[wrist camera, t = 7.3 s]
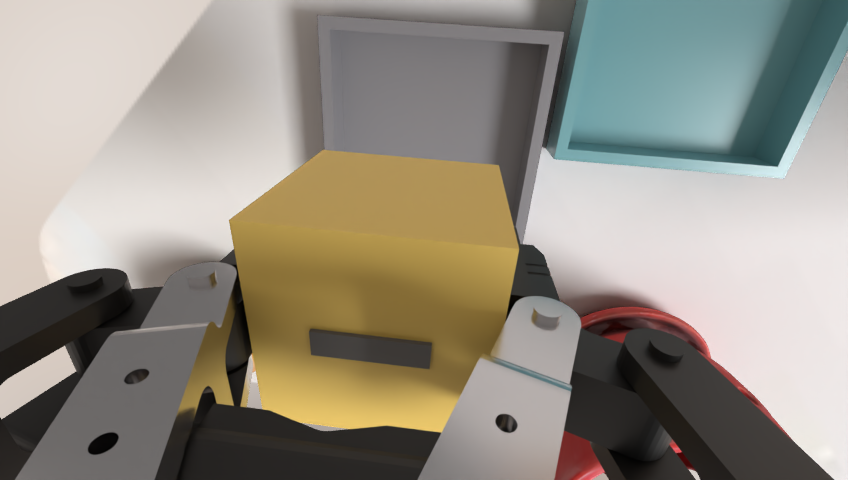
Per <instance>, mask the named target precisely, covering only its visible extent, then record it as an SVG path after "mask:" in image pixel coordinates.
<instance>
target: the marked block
mask: <svg viewBox="0 0 848 480" xmlns="http://www.w3.org/2000/svg"><path fill="white" fill-rule="evenodd" d="M229 223H230V229H231V234H232V240H233V245H234V251H235V257H236V262H237V268H238V274H239V279H240V285H241V290H242V296H243V302H244V307H245V313H246V318H247V324H248V330H249V335H250V341H251V347H252V352H253V358H254V363H255V369H256V375H257V380H258V386H259V392H260V397H261V403H262V408H263V410H270V411H272V412H275V413H277V414H280V415H282V416H284V417H287V418H289V419H292V420H294V421H297V422H300V423H308V424H316V425H324V426H331V427H339V428H346V429H357V428H367V427H377V426H394V427H402V428H410V429H418V430H425V431H433V432H441V433H442V431H443V429H444V427H445V425H446V423H447V421H448V419H449V417H450V415H451V413H452V411H453V409H454V407H455V405H456V403H457V401H458V399H459V398H460V396H461V394H462V392H463V390H464V388H465V386H466V384H467V382H468V380H469V378H470V376H471V374H472V372H473V370H474V368H475V366H476V364H477V362H478V360H479V359H480V357H481V355H482V354H483V353H485V354H488V355H490V353H491V351H492V349H493V347H494V345H495V343H496V341H497V339H498V337H499V335H500V333H501V331H502V329H503V326H504V324H505V320H506V315H507V310H508V305H509V300H510V294H511V289H512V284H513V279H514V274H515V269H516V263H517V258H518V253H519V246H518V242H517V238H516V234H515V230H514V225H513V221H512V217H511V213H510V209H509V205H508V201H507V197H506V193H505V188H504V184H503V180H502V176H501V172H500V168H499V165H492V164H480V163H469V162H457V161H446V160H434V159H423V158H411V157H400V156H388V155H377V154H365V153H354V152H342V151H331V150H322V151H321V152H319V153H318V154H317V155H315V156H314V157H313V158H311V159H310V160H309V161H307V162H306V163H305V164H303V165H302V166H301V167H299V168H298V169H297V170H295V171H294V172H293V173H291V174H290V175H289V176H287V177H286V178H285V179H283V180H282V181H281V182H279V183H278V184H277V185H275V186H274V187H273V188H271V189H270V190H269V191H267V192H266V193H265V194H263V195H262V196H261V197H259V198H258V199H257V200H255V201H254V202H253V203H251V204H250V205H249V206H247V207H246V208H245V209H243V210H242V211H241V212H239V213H238V214H237V215H235V216H234V217H233V218H231V219H230V220H229Z"/></svg>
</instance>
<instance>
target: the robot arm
mask: <svg viewBox="0 0 848 480" xmlns="http://www.w3.org/2000/svg"><path fill="white" fill-rule="evenodd" d="M514 230H515V234H516V238H517V242H518V246H519V253H518V258H517V263H516V269H515V274H514V279H513V284H512V289H511V294H510V300H509V305H508V310H507V315H506V320H505V324H504V326H503V329H502V331H501V333H500V335H499V337H498V339H497V341H496V343H495V345H494V347H493V349H492V351H491V353H490V355H488V354H485V353H483V354H482V355H481V357H480V359H479V360H478V362H477V364H476V366H475V368H474V370H473V372H472V374H471V376H470V378H469V380H468V382H467V384H466V386H465V388H464V390H463V392H462V394H461V396H460V398H459V399H458V401H457V403H456V405H455V407H454V409H453V411H452V413H451V415H450V417H449V419H448V421H447V423H446V425H445V427H444V429H443V431H442V433H441V432H433V431H425V430H418V429H410V428H402V427H394V426H377V427H367V428H357V429H348V430H338V431H319V430H316V429H313V428H311V427H309V426H306V425H304V424H302V423H299V422H297V421H294V420H292V419H289V418H287V417H284V416H282V415H280V414H277V413H275V412H272V411H270V410H263V409H255V408H247V401H248V395H249V388H250V383H251V377H252V371H253V360H252V353H253V352H252V347H251V341H250V335H249V330H248V324H247V318H246V313H245V307H244V302H243V296H242V290H241V285H240V279H239V274H238V268H237V262H236V257H235V251H234V250H232V251H231V252H230V253H229V254H228V255H227V256H226V257H225V258H223V259H222V260H221V261H220V262H205V263H199V264H194V265H191V266H188V267H185V268H183V269H181V270H179V271H177V272H175V273H174V274H172V275H171V276H170V277H169V278H168V280H167V281H166V283H165V285H164V286H163V287H153V288H141V289H131V286H130V283H129V280H128V277H127V275H126V273H125V272H123V271H121V270H118V269H110V268H103V269H94V270H88V271H83V272H79V273H76V274H73V275H70V276H67V277H65V278H63V279H60V280H58V281H56V282H54V283H51V284H49V285H47V286H45V287H42V288H40V289H38V290H36V291H34V292H31V293H29V294H27V295H24V296H22V297H20V298H18V299H16V300H13V301H11V302H9V303H7V304H4V305H2V306H0V385H1V384H2V383H3V382H4V381H5V380H7V379H8V378H9V377H11V376H13V375H14V374H16V373H18V372H19V371H21V370H23V369H25V368H26V367H28V366H30V365H32V364H33V363H35V362H37V361H39V360H40V359H42V358H44V357H46V356H47V355H49V354H51V353H52V352H54V351H56V350H57V349H59V348H61V347H63V346H66V349H67V351H68V353H69V355H70V358H71V360H72V362H73V364H74V366H75V369H76V372H75V373H73V374H72V375H70V376H69V377H67V378H65V379H64V380H62V381H61V382H59V383H58V384H56V385H55V386H53V387H51V388H50V389H48V390H47V391H45V392H44V393H42V394H40V395H39V396H38V397H36V398H34V399H33V400H31V401H30V402H28V403H26V404H25V405H23V406H22V407H20V408H19V409H17V410H16V411H14V412H13V413H11V414H9V415H8V416H6V417H5V418H3V419H2V420H1V418H0V480H554V479H555V473H556V468H557V463H558V458H559V452H560V447H561V442H562V437H563V432H564V431H566V432H568V433H571V434H573V435H576V436H578V437H581V438H583V439H586V440H588V441H590V445H591V448H592V450H593V452H594V453H595V455H596V457H597V459H598V461H599V463H600V464H601V466H602V468H603V470H604V472H605V473H606V475H607V477H608V478H609V480H696V479H695V478H694V477H693V475H692V474H691V473H690V471H689V470H688V469H687V467H686V466H685V465H684V463H683V462H682V461H681V459H680V458H679V457H678V455H677V454H676V453H675V451H674V450H673V449H672V447H671V446H670V445H669V444H670V442H671V440H673V441H674V442H675V443H676V445H677V446H678V447H679V449H680V450H681V451H682V453H683V454H684V455H685V456H686V458H687V459H688V460H689V462H690V463H691V464H692V466H693V467H694V468H695V470H696V472H697V473H698V475H699V477H700V480H834V479H833V478H832V477H831V476H830V475H829V474H828V473H826V472H825V471H824V470H823V469H822V468H821V467H820V466H819V465H818V464H817V463H816V462H815V461H814V460H813V459H812V458H811V457H810V456H808V455H807V454H806V453H805V452H804V451H803V450H802V449H801V448H800V447H799V446H798V445H797V444H796V443H795V442H794V441H793V440H792V439H790V438H789V437H788V436H787V435H786V434H785V433H784V432H783V431H782V430H781V429H780V428H779V427H778V426H777V425H776V424H775V423H774V422H772V421H771V420H770V419H769V418H768V417H767V416H766V415H765V414H764V413H763V412H762V411H761V410H760V409H759V408H758V407H757V406H756V405H754V404H753V403H752V402H751V401H750V400H749V399H748V398H747V397H746V396H745V395H744V394H743V393H742V392H741V391H740V390H739V389H738V388H736V387H735V386H734V385H733V384H732V383H731V382H730V381H729V380H728V379H727V378H726V377H725V376H724V375H723V374H722V373H721V372H720V371H718V370H717V369H716V368H715V367H714V366H713V365H712V364H711V363H710V362H709V361H708V360H707V359H706V358H705V357H704V356H703V355H702V354H700V353H699V352H698V351H697V350H696V349H695V348H694V347H693V346H691V345H690V344H689V343H687V342H686V341H684V340H682V339H680V338H678V337H676V336H674V335H672V334H669V333H667V332H664V331H660V330H656V329H650V328H638V329H634V330H631V331H629V332H628V333H627V334H626V336H625V338H624V341H623V343H621V342H617V341H614V340H611V339H608V338H605V337H602V336H598V335H596V334H593V333H591V332H588V331H586V330H584V329H583V328H581V320H580V318H579V316H578V314H577V313H576V312H575V311H574V310H573V309H572V308H570V307H569V306H568V305H566V304H564V303H562V302H560V300H559V297H558V294H557V291H556V288H555V286H554V283H553V280H552V277H551V276H550V271H549V269H548V267H547V263H546V260H545V257H544V255H543V254H542V253H541V252H540V251H539V250H538V249H537V248H535V247H534V246H533V245H524V244H520V240H519V236H518V232H517V228H516V227H514Z"/></svg>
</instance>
